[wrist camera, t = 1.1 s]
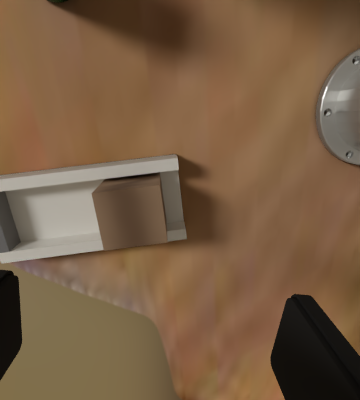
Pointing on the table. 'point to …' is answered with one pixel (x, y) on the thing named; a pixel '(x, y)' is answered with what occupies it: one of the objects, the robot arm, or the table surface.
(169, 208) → the chute
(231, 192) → the table surface
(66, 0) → the soda can
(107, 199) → the walnut block
